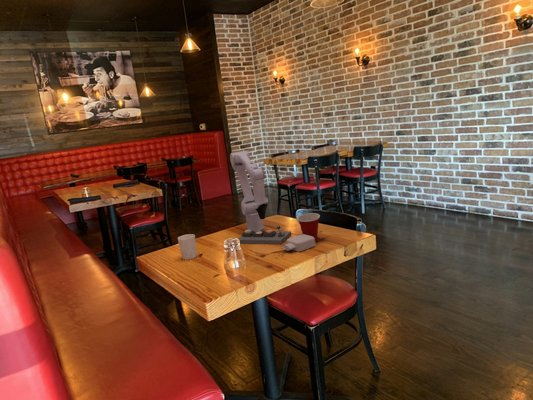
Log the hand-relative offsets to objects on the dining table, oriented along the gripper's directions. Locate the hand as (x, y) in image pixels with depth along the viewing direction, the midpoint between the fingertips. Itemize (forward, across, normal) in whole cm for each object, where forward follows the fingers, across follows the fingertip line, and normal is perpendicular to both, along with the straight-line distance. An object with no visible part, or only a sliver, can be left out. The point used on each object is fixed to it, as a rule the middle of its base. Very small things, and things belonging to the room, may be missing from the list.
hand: (262, 218), depth 202 cm
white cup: (+10, -31, +25) cm, 41 cm away
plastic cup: (+10, -5, -26) cm, 28 cm away
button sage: (+6, -4, +7) cm, 10 cm away
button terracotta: (+6, -4, -5) cm, 9 cm away
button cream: (+7, -4, +1) cm, 8 cm away
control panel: (+9, -4, -2) cm, 10 cm away
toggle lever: (+6, -4, -11) cm, 13 cm away
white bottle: (+10, -17, -23) cm, 30 cm away
